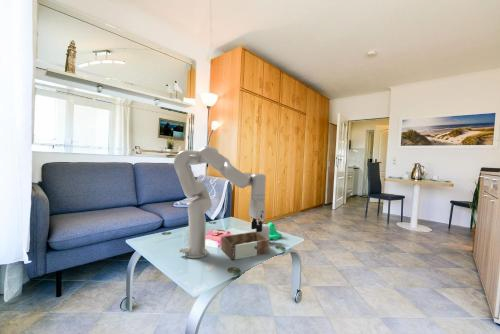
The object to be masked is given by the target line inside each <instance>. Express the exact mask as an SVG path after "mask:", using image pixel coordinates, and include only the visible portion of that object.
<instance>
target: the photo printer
mask: <svg viewBox="0 0 500 334" xmlns="http://www.w3.org/2000/svg"><path fill="white" fill-rule="evenodd" d="M255 231H256V229H254V232H255ZM257 233H259V234H261V235H262V236H264V237H265V238H267V239H269V233H270V227H269V225H267V224H265V223H263V225H262V232H257ZM269 240H270V239H269Z"/></svg>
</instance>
